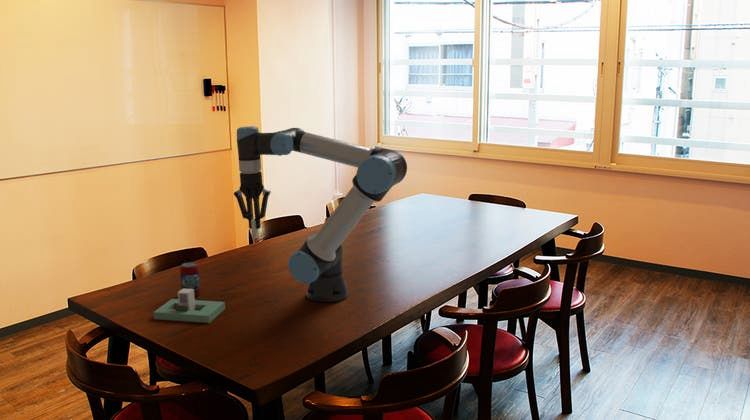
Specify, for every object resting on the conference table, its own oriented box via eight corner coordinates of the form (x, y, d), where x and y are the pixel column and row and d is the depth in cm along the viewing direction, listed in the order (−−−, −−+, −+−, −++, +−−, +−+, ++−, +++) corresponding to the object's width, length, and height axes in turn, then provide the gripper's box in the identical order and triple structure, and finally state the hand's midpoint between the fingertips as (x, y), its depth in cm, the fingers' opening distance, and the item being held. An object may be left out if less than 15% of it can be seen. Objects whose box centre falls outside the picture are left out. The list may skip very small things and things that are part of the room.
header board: (225, 308, 240) (224, 297, 239) (209, 322, 227) (208, 311, 227) (172, 305, 244) (171, 294, 243) (154, 319, 231) (153, 307, 230)
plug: (195, 311, 237) (193, 289, 235) (189, 315, 233) (187, 293, 231) (184, 310, 238) (183, 288, 236) (178, 315, 234) (177, 292, 232)
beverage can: (182, 299, 250) (179, 267, 247) (182, 293, 256) (179, 262, 253) (201, 297, 252) (198, 266, 249) (200, 291, 258) (198, 260, 255)
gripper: (271, 169, 239) (276, 234, 244) (236, 170, 241) (241, 234, 246) (265, 173, 232) (270, 240, 237) (228, 173, 234) (234, 240, 239)
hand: (255, 237), depth 242 cm, fingers closed
